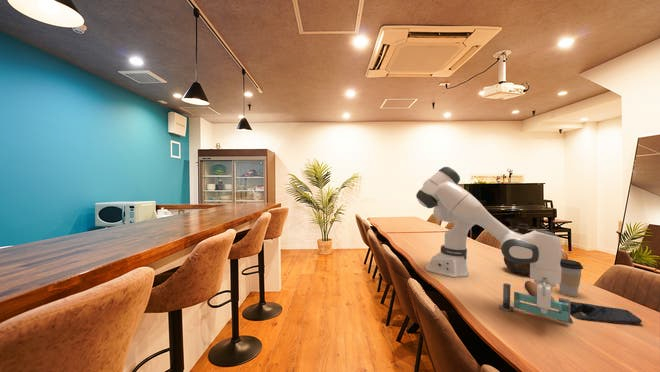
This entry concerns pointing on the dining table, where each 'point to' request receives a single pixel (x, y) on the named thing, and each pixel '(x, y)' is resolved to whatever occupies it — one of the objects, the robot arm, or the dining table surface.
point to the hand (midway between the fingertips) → (544, 312)
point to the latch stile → (569, 308)
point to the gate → (534, 309)
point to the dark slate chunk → (602, 313)
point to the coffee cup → (570, 277)
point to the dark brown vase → (519, 267)
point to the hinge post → (506, 299)
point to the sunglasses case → (533, 288)
